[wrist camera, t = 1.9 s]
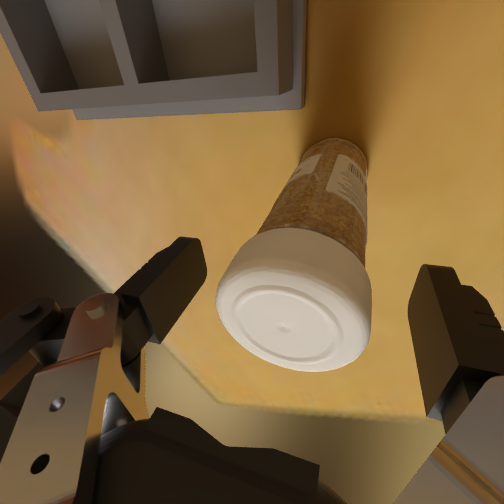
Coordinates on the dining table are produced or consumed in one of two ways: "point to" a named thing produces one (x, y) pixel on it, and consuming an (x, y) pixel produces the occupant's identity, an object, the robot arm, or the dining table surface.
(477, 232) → the dining table surface
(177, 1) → the caddy
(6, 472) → the robot arm
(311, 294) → the sprinkles bottle
